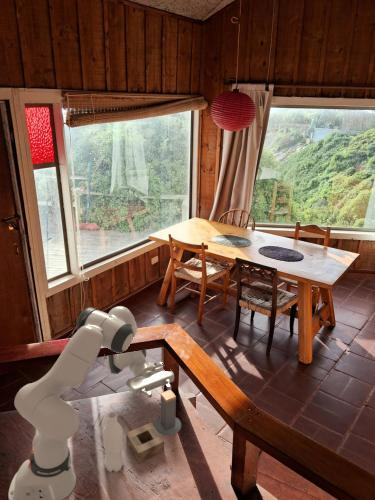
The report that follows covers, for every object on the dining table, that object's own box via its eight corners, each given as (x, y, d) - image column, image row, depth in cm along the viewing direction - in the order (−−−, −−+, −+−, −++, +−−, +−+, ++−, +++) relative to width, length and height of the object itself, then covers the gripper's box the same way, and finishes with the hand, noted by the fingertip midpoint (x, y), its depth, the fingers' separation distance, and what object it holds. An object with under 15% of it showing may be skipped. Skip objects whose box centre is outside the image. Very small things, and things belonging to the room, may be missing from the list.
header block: (138, 465, 153) (138, 453, 151) (126, 444, 162) (126, 433, 160) (164, 452, 159) (164, 441, 157) (151, 433, 168) (151, 422, 165)
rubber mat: (154, 437, 166) (154, 435, 165) (155, 417, 176) (155, 415, 176) (181, 437, 166) (181, 435, 166) (180, 416, 176) (180, 415, 176)
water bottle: (103, 475, 149) (100, 422, 140) (106, 458, 156) (103, 407, 146) (122, 475, 149) (121, 422, 140) (125, 458, 156) (123, 407, 147)
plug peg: (165, 430, 168) (166, 400, 162) (160, 423, 171) (160, 393, 165) (175, 426, 170) (175, 396, 164) (169, 419, 174) (170, 389, 168)
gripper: (123, 375, 177) (137, 395, 166) (165, 360, 187) (180, 378, 176) (124, 387, 179) (137, 407, 169) (165, 371, 190) (180, 389, 179)
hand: (160, 392), depth 173 cm, fingers open, 8 cm apart
